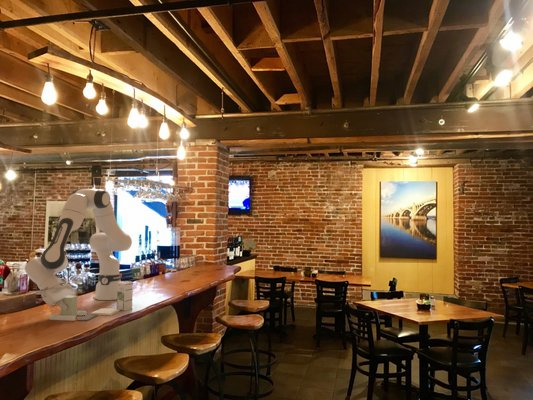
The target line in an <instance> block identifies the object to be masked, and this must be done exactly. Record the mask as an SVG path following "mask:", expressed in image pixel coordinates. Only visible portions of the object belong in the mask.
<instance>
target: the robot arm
mask: <svg viewBox="0 0 533 400" xmlns="http://www.w3.org/2000/svg"><path fill="white" fill-rule="evenodd" d="M90 209H92V215H93V218H94V221H95V226H96V228H97V229H98V230H99V231H101V232H98V233H93V234H92V235H91V236H90V238H89V246H90V248H91V249H92V250H94V252H95V253H96V255H97V258H98V261H99V274H98V282H97V283H96V285H95V293H94V295H93V296H92V298H93V299H95V300H99V301H112V300H117V291H118V282H121V281H122V280H121V278H122V277H123V275H122V273H120V266H121V265H120V260H119V259H118V258H117V257H115V256H114V254H113V252H126V251H128V250H130V248H131V246H132V243H133V240H132V237H131V236H130V235H129V234H128V233H126V232H125V231H124V230H123V229H122V228H121V227H120V225H119V224H118V222H117V219H116V215H115V211H114V207H113V204H112V201H111V195H110V193H109V192H108V191H107V190H105V189H99V188H98V189H97V188H83V189H82V188H79V189H74V190H72V191H71V193H70V195H69V197H68V198H67V199H66V201H65V203H64V206H63V207H62V210H61V214H60V215H59V216H60V217H59V220H58V224H57V227H56V230H55V232H54V235H53V237H52V239H51V241H50V243H49V245H48V247H46V249H44V251H43V252H42V254H41V256H35V257H33V258H30V259H29V260H28V261H27V262H26V264H25V266H24V271H25V274H26V275H27V276H28V277H29V279H30V280H31V281H32V282H33V283H35V284H36V285H37V287H38V289H39V290H40V291H39V292H40V294H41V298H42V300H43V301H44V303H46V305H47V306H49V307H53V306H55V305H57V306H58V307H60V308H61V307H62V308H63V309H64V310H66V309H67V308H68V305H67V304H66V305H65V304H64V303H63V301H62V300H63V299H64V298H63V297H66V296H68V295H72V296H77V292H76V291H75V289H74V288H73V287H72V286H71V284H69V283H67V282H68V280H67V279H66V278H61V277H57V276H56V275H57V274H60V273H61V272H62V271H64V270H66V268H67V267H68V265H69V260H68V257H67V256H66V254H65V248H66V245H67V243H68V239H69V237H70V235H71V233H72V232H73V231H77V230H79V228H81V225H82V223H83V222H84V219H85V216H86V213H87V210H90Z"/></svg>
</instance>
